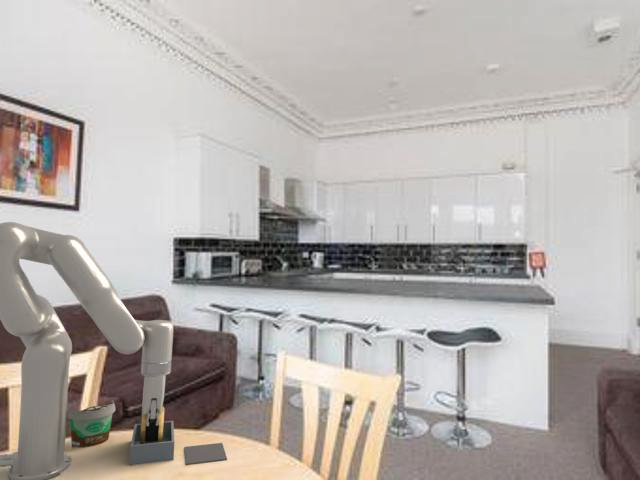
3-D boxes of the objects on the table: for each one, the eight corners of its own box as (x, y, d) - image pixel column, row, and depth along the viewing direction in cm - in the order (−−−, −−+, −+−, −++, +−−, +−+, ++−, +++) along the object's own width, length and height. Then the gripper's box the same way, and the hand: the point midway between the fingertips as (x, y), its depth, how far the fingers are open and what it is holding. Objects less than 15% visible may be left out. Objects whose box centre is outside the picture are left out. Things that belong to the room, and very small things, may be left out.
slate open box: (129, 467, 106) (130, 446, 106) (133, 442, 119) (134, 424, 120) (173, 461, 109) (174, 441, 109) (172, 438, 123) (173, 420, 123)
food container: (76, 455, 111) (78, 415, 111) (65, 448, 115) (67, 410, 115) (122, 440, 121) (124, 404, 121) (111, 434, 124) (113, 399, 125)
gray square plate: (186, 467, 107) (186, 463, 107) (184, 449, 116) (184, 446, 116) (226, 461, 110) (227, 458, 110) (222, 445, 119) (222, 442, 119)
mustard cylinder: (139, 452, 111) (141, 413, 111) (140, 444, 116) (142, 406, 116) (161, 450, 112) (164, 411, 113) (162, 442, 118) (164, 404, 118)
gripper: (142, 360, 122) (138, 425, 121) (139, 376, 106) (134, 451, 105) (170, 359, 125) (166, 423, 124) (171, 375, 108) (166, 448, 107)
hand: (151, 435), depth 114 cm, fingers closed on mustard cylinder, 5 cm apart
